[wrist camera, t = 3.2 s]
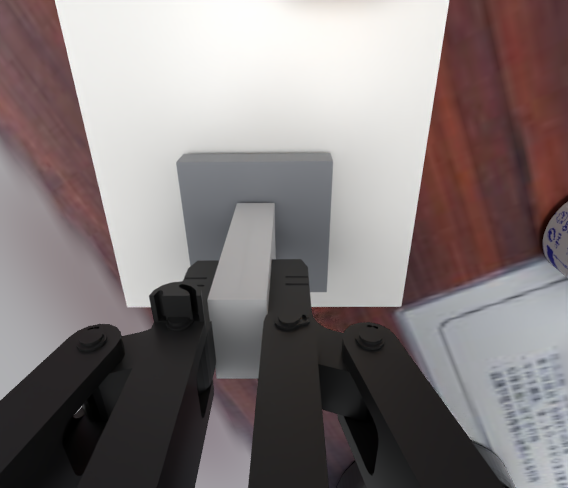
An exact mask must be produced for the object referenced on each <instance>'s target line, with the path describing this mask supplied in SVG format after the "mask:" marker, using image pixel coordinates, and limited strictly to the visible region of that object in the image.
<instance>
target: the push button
mask: <svg viewBox="0 0 568 488" xmlns="http://www.w3.org/2000/svg"><path fill="white" fill-rule="evenodd" d="M176 166H177V173H178V180H179V187H180V195H181V202H182V209H183V216H184V224H185V231H186V238H187V245H188V253H189V260H190V266H192V265H193V264H194V263H195V262H196V261H209V260H220V257H221V254H222V250H223V247H224V244H225V241H226V237H227V234H228V231H229V228H230V224H231V221H232V218H233V215H234V211H235V208H236V205H237V203H275V245H276V259H301V260H302V261H303V262H304V263H305V264H306V265H307V267H308V274H309V286H310V292H327V278H328V257H329V237H330V216H331V196H332V175H333V159H332V157H331V154H330V153H262V154H183V155H182V156H181V157H180V158H179V159H178V161H177V162H176Z"/></svg>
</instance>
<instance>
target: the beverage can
mask: <svg viewBox="0 0 568 488" xmlns="http://www.w3.org/2000/svg"><path fill="white" fill-rule="evenodd" d="M543 251H544V254H545V256H546V258H547V260H548V261H549V262H550V263H551V264H552V265H553V266H554V267H555V268H557V269H558V270H559V271H560V272H561V273H562V274H564V275H565V276H566V277H567V278H568V202H567V203H565V204H564V205H563V206H562V207H561V208H560V209H559V210H558V211H557V212H556V213H555V214H554V216H553V217H552V218H551V220H550V222H549V223H548V225H547V227H546V230H545V233H544V237H543Z"/></svg>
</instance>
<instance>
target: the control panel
mask: <svg viewBox="0 0 568 488" xmlns="http://www.w3.org/2000/svg"><path fill="white" fill-rule="evenodd" d="M55 3H56V7H57V11H58V16H59V20H60V24H61V28H62V33H63V37H64V41H65V45H66V50H67V54H68V58H69V62H70V67H71V71H72V75H73V79H74V83H75V88H76V92H77V96H78V100H79V105H80V109H81V113H82V117H83V122H84V126H85V130H86V134H87V139H88V143H89V147H90V151H91V155H92V160H93V164H94V168H95V172H96V177H97V181H98V185H99V189H100V194H101V198H102V202H103V206H104V211H105V215H106V219H107V223H108V227H109V232H110V236H111V240H112V244H113V249H114V253H115V257H116V261H117V266H118V270H119V274H120V278H121V283H122V287H123V291H124V295H125V299H126V304H127V307H151V304H150V299H149V295H150V294H151V293H152V292H153V291H154V290H155V289H157V288H158V287H160V286H162V285H165V284H168V283H171V282H180V281H183V279H184V277H185V274H186V272H187V270H188V268H189V267H190V260H189V253H188V245H187V238H186V231H185V224H184V216H183V209H182V202H181V195H180V187H179V180H178V173H177V166H176V162H177V161H178V159H179V158H180V157H181V156H182V155H183V154H262V153H330V154H331V157H332V159H333V175H332V196H331V216H330V237H329V257H328V278H327V292H310V298H311V307H401V305H402V299H403V292H404V286H405V280H406V273H407V267H408V260H409V254H410V248H411V241H412V235H413V228H414V222H415V216H416V209H417V203H418V196H419V190H420V184H421V177H422V171H423V165H424V158H425V152H426V145H427V139H428V133H429V126H430V120H431V113H432V107H433V101H434V94H435V88H436V81H437V75H438V69H439V62H440V56H441V50H442V43H443V37H444V30H445V24H446V18H447V11H448V5H449V0H55Z"/></svg>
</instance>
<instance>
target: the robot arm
mask: <svg viewBox="0 0 568 488" xmlns="http://www.w3.org/2000/svg"><path fill="white" fill-rule="evenodd" d="M149 299H150V304H151V309H152V314H153V319H154V323H153V325H152V328H151V329H149V330H146V331H143V332H140V333H135V334H131V335H126V336H121V332H120V331H119V329H118V328H117V327H115V326H112V325H110V324H98V325H93V326H88V327H86V328H84V329H81V330H79V331H77V332H76V333H74V334H73V335H72V336H70V337H69V338H68V339H67V340H66V341H65V342H63V343H62V344H61V345H60V347H58V348H57V349H56V350H55V351H54V352H53V353H52V354H50V355H49V357H47V358H46V359H45V360H44V361H43V362H42V363H41V364H40V365H38V366H37V367H36V368H35V369H34V370H33V371H32V372H31V373H30V374H29V375H28V376H27V377H26V378H25V379H23V380H22V381H21V382H20V383H19V384H18V385H17V386H16V387H15V388H14V389H12V390H11V391H10V392H9V393H8V394H7V395H6V396H5V397H4V398H3V399H2V400H0V488H195V483H196V478H197V474H198V469H199V464H200V459H201V454H202V449H203V444H204V440H205V435H206V430H207V424H208V420H209V415H210V410H211V405H212V400H213V396H214V387H213V375H214V370H215V368H216V376H217V378H258V387H257V398H256V409H255V420H254V431H253V442H252V453H251V463H250V475H249V485H248V488H329V484H328V473H327V461H326V450H325V438H324V427H323V415H322V409H323V410H326V411H329V412H333V413H336V414H338V419H339V422H340V424H341V427H342V429H343V431H344V434H345V436H346V439H347V441H348V443H349V446H350V448H351V451H352V453H353V456H354V458H355V460H356V462H354V463H353V464H352V465H351V466H350V467H349V468H348V469H347V470H346V471H345V473H344V474H343V476H342V477H341V479H340V481H339V483H338V486H337V488H516V487H515V485H514V483H513V481H512V479H511V477H510V475H509V473H508V471H507V469H506V467H505V466H504V464H503V462H502V461H501V460H500V459H499V458H498V457H497V456H496V455H495V454H494V453H492V452H491V451H489V450H488V449H486V448H484V447H482V446H480V445H478V444H475V443H472V441H471V440H470V439H469V437H468V436H467V434H466V433H465V432H464V430H463V429H462V427H461V426H460V425H459V423H458V422H457V421H456V419H455V418H454V416H453V415H452V414H451V412H450V411H449V409H448V408H447V407H446V405H445V404H444V402H443V401H442V400H441V398H440V397H439V396H438V394H437V393H436V391H435V390H434V389H433V387H432V386H431V384H430V383H429V382H428V380H427V379H426V378H425V376H424V375H423V373H422V372H421V371H420V369H419V368H418V366H417V365H416V364H415V362H414V361H413V359H412V358H411V357H410V355H409V354H408V353H407V351H406V350H405V348H404V347H403V346H402V344H401V343H400V341H399V340H398V339H397V337H396V336H395V335H394V334H393V333H392V332H391V331H390V330H389V329H387V328H385V327H383V326H381V325H379V324H374V323H370V322H367V323H357V324H354V325H351V326H350V327H348V328H347V329H346V330H345V332H344V333H341V332H336V331H333V330H330V329H327V328H325V327H323V326H321V325H320V324H319V323H317V322H316V320H315V319H314V318H313V315H312V310H311V298H310V286H309V274H308V267H307V265H306V264H305V263H304V262H303V261H302V260H301V259H276V245H275V203H237V205H236V208H235V211H234V215H233V218H232V221H231V224H230V228H229V231H228V234H227V237H226V241H225V244H224V247H223V250H222V254H221V257H220V260H209V261H196V262H195V263H194V264H193V265H192V266H190V267H189V268H188V270H187V272H186V274H185V277H184V279H183V281H180V282H171V283H168V284H165V285H162V286H160V287H158V288H157V289H155V290H154V291H153V292H152V293H151V294H150V295H149ZM81 406H82V408H81V409H80V410H79V408H80V407H81ZM78 410H79V411H78ZM77 411H78V412H77ZM76 412H77V413H76ZM75 413H76V414H75ZM74 414H75V415H74Z"/></svg>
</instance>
